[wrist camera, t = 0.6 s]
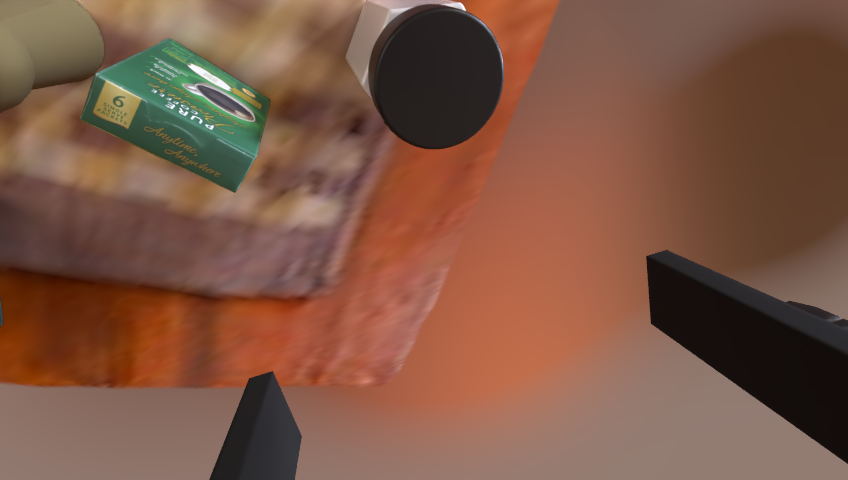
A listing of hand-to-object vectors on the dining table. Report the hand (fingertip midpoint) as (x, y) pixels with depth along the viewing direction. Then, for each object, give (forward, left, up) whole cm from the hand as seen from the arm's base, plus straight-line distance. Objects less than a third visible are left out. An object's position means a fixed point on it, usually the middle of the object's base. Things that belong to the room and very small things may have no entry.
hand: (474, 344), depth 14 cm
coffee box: (+1, -12, -28) cm, 30 cm away
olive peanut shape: (+1, -22, -28) cm, 35 cm away
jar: (-6, +1, -28) cm, 28 cm away
